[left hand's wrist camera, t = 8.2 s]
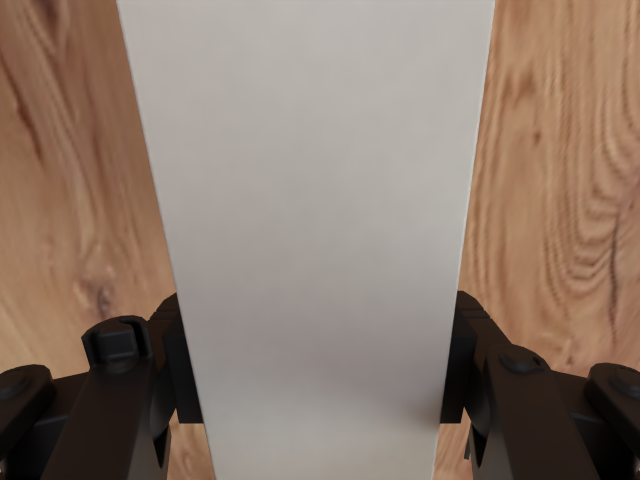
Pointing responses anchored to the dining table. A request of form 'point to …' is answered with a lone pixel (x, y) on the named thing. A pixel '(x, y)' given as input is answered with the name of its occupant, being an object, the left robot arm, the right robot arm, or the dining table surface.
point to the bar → (313, 218)
